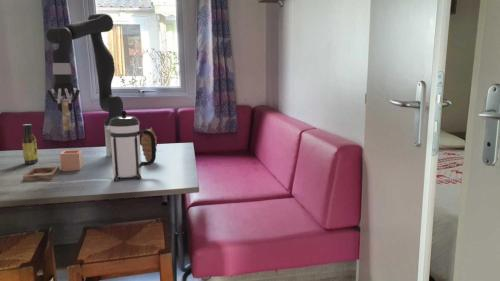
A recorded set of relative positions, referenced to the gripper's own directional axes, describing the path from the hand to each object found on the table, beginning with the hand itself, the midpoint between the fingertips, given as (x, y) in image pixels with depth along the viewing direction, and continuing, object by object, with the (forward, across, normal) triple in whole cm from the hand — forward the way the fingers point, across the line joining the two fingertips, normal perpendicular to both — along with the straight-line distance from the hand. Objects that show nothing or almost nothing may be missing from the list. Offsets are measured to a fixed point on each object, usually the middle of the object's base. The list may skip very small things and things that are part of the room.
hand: (65, 111), depth 173 cm
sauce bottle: (+29, +23, -21) cm, 42 cm away
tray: (+28, +10, +9) cm, 31 cm away
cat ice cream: (+28, -36, -8) cm, 47 cm away
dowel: (+9, 0, 0) cm, 9 cm away
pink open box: (+28, -1, -1) cm, 28 cm away
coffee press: (+29, -28, +17) cm, 44 cm away
